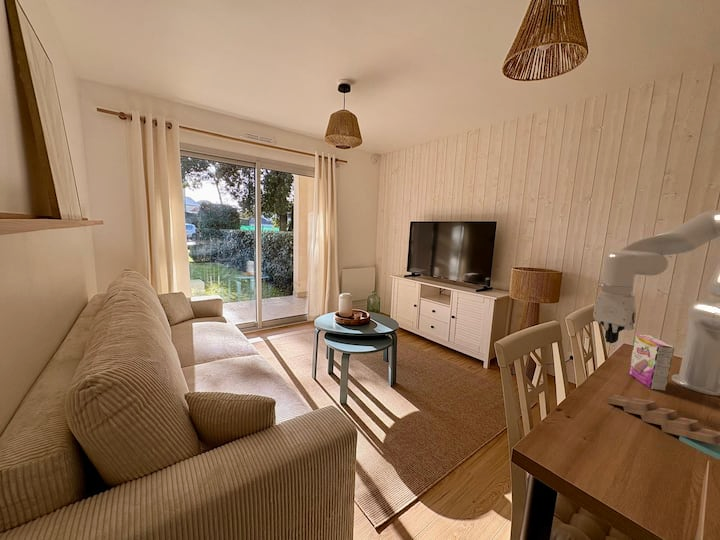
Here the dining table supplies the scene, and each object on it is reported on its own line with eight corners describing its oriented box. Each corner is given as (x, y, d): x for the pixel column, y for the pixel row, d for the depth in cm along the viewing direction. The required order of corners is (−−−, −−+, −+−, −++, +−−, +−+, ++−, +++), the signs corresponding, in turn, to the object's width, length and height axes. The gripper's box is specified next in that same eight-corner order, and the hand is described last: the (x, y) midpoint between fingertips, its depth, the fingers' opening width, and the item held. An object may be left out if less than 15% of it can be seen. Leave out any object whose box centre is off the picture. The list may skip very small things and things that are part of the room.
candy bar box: (627, 373, 111) (634, 333, 109) (642, 375, 110) (650, 334, 108) (649, 389, 100) (658, 345, 98) (666, 391, 99) (675, 346, 97)
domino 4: (671, 421, 81) (724, 432, 72) (673, 427, 81) (726, 439, 72) (660, 425, 80) (713, 437, 70) (662, 431, 79) (715, 444, 70)
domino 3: (650, 411, 86) (698, 420, 76) (651, 417, 85) (700, 427, 76) (640, 415, 84) (688, 424, 75) (642, 420, 83) (690, 431, 74)
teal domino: (689, 431, 78) (748, 459, 69) (688, 436, 78) (747, 465, 69) (679, 435, 76) (739, 465, 67) (678, 441, 76) (737, 471, 67)
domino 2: (632, 402, 90) (675, 410, 81) (634, 408, 89) (677, 416, 80) (623, 406, 88) (666, 414, 79) (624, 411, 88) (668, 420, 78)
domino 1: (615, 395, 94) (655, 401, 85) (617, 400, 93) (656, 407, 84) (606, 398, 92) (645, 404, 83) (607, 403, 91) (647, 410, 82)
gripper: (585, 286, 101) (580, 336, 104) (639, 296, 87) (632, 352, 90) (598, 284, 104) (593, 332, 107) (652, 293, 90) (645, 348, 93)
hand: (611, 341), depth 99 cm, fingers closed
